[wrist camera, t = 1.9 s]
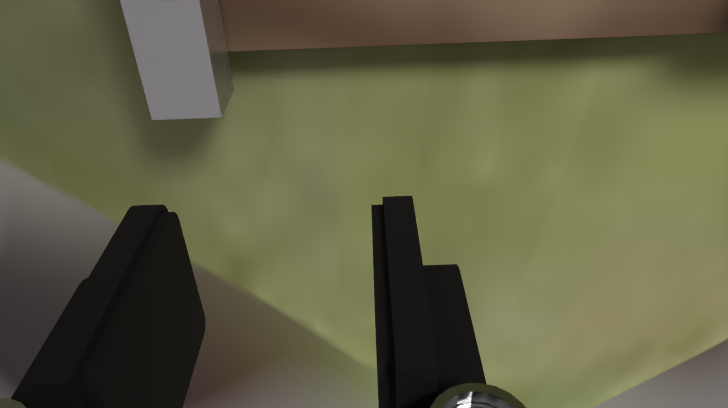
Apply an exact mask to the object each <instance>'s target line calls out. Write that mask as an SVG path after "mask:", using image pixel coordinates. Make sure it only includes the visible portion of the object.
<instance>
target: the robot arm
mask: <svg viewBox="0 0 728 408" xmlns="http://www.w3.org/2000/svg"><path fill="white" fill-rule="evenodd" d="M372 234H373V265H374V296H375V326H376V351H377V375H378V399H379V408H526V407H525V406H524V405H523V404H522V403H521V402H520V401H519V400H518V399H516V398H515V397H514V396H513V395H512V394H510V393H508V392H506V391H504V390H502V389H500V388H498V387H496V386H492V385H487V384H486V380H485V376H484V372H483V367H482V363H481V359H480V355H479V350H478V346H477V342H476V338H475V333H474V329H473V325H472V321H471V316H470V312H469V308H468V304H467V299H466V295H465V291H464V287H463V282H462V278H461V274H460V270H459V267H458V266H457V264H453V265H424V266H423V263H422V256H421V250H420V243H419V237H418V230H417V224H416V217H415V211H414V204H413V198H412V196H394V197H383V205H372ZM204 332H205V316H204V311H203V308H202V304H201V300H200V297H199V293H198V289H197V286H196V281H195V278H194V274H193V270H192V266H191V263H190V259H189V255H188V251H187V248H186V244H185V240H184V236H183V233H182V229H181V225H180V221H179V218H178V215H177V214H176V213H175V212H168V209H167V208H166V207H165V206H164V205H140V206H131V207H130V208H129V210H128V211H127V213H126V215H125V216H124V218H123V220H122V221H121V223H120V225H119V226H118V228H117V230H116V232H115V234H114V235H113V237H112V238H111V240H110V242H109V243H108V245H107V247H106V249H105V250H104V252H103V254H102V255H101V257H100V259H99V261H98V262H97V264H96V265H95V267H94V269H93V271H92V272H91V274H90V276H89V277H88V278H86V279H84V280H83V281H82V282H81V284H80V285H79V286H78V288H77V289H76V291H75V293H74V295H73V296H72V298H71V300H70V301H69V303H68V304H67V306H66V308H65V309H64V311H63V313H62V314H61V316H60V318H59V319H58V321H57V323H56V324H55V326H54V328H53V329H52V331H51V333H50V334H49V336H48V338H47V339H46V341H45V343H44V344H43V346H42V348H41V349H40V351H39V353H38V354H37V356H36V358H35V359H34V361H33V363H32V364H31V366H30V368H29V369H28V371H27V373H26V374H25V376H24V378H23V379H22V381H21V383H20V384H19V386H18V388H17V389H16V391H15V393H14V394H13V396H12V398H11V399H9V398H5V399H0V408H182V407H183V404H184V401H185V397H186V394H187V390H188V387H189V384H190V380H191V377H192V374H193V370H194V367H195V363H196V360H197V357H198V353H199V350H200V347H201V343H202V340H203V337H204Z"/></svg>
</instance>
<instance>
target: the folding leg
mask: <svg viewBox="0 0 728 408" xmlns="http://www.w3.org/2000/svg"><path fill="white" fill-rule="evenodd" d="M120 2H121V6H122V10H123V14H124V17H125V21H126V25H127V28H128V32H129V36H130V40H131V43H132V47H133V51H134V55H135V58H136V62H137V66H138V70H139V73H140V77H141V81H142V85H143V88H144V92H145V96H146V100H147V103H148V107H149V111H150V115H151V118H152V120H167V119H195V118H222V116H223V113H224V111H225V109H226V107H227V105H228V102H229V100H230V98H231V96H232V94H233V92H234V87H233V81H232V75H231V69H230V64H229V58H228V52H227V46H226V40H225V35H224V29H223V23H222V17H221V11H220V6H219V0H120Z"/></svg>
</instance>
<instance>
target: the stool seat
mask: <svg viewBox="0 0 728 408" xmlns="http://www.w3.org/2000/svg"><path fill="white" fill-rule="evenodd" d="M219 6H220V11H221V17H222V23H223V29H224V35H225V40H226V46H227V52H230V51H256V50H283V49H309V48H336V47H362V46H389V45H415V44H442V43H468V42H495V41H522V40H548V39H575V38H601V37H628V36H654V35H681V34H707V33H728V0H219Z"/></svg>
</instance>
